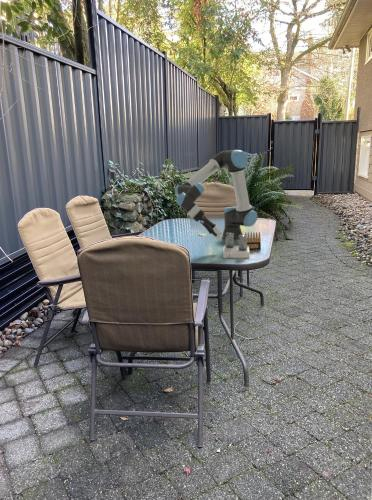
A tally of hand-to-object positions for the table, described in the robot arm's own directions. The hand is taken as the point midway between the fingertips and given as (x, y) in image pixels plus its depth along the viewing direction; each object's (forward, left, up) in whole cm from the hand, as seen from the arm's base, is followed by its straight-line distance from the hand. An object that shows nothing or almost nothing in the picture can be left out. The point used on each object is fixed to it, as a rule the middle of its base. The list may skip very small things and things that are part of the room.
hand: (220, 236), depth 243 cm
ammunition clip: (-9, +20, -11) cm, 25 cm away
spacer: (0, +6, -7) cm, 9 cm away
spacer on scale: (+7, +14, -7) cm, 17 cm away
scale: (+3, +10, -11) cm, 15 cm away
